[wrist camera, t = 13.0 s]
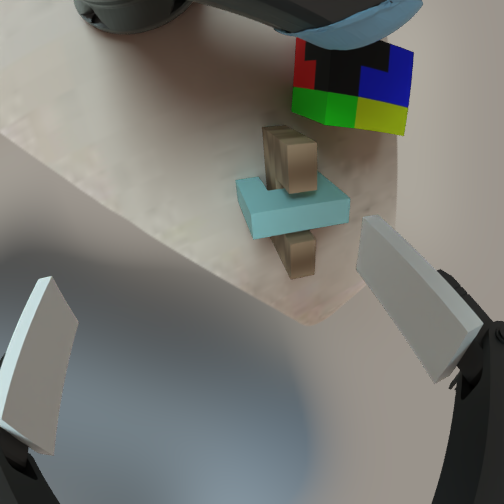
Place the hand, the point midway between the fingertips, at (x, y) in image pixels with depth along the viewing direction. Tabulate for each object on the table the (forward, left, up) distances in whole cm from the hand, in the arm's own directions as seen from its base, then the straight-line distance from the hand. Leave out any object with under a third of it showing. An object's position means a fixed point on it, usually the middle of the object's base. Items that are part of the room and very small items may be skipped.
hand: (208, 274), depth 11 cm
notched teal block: (+8, +10, -27) cm, 30 cm away
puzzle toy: (-6, +18, -27) cm, 33 cm away
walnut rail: (+8, +10, -27) cm, 30 cm away
